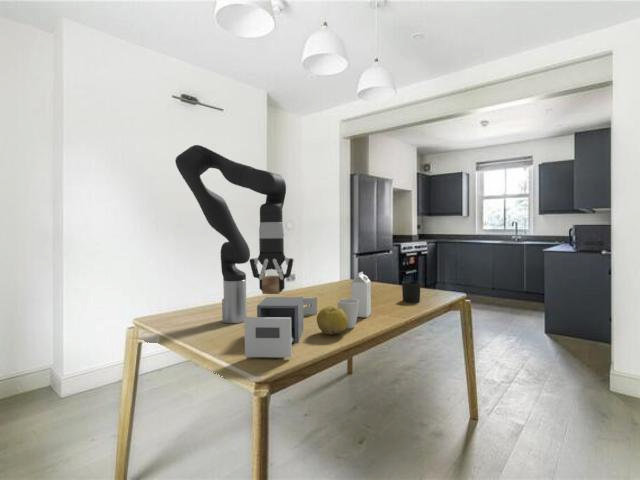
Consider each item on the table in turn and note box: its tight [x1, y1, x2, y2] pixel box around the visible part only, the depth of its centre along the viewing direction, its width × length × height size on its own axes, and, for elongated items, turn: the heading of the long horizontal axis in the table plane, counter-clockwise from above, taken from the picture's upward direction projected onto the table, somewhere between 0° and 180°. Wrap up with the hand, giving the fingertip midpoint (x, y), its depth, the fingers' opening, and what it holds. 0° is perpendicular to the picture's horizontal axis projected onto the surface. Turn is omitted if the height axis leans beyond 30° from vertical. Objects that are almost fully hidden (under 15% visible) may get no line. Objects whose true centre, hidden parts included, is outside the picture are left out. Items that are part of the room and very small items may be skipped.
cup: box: [337, 298, 358, 329], centre depth 137 cm, size 8×8×10 cm
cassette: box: [303, 296, 318, 317], centre depth 157 cm, size 12×2×8 cm, turn 113°
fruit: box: [316, 305, 348, 335], centre depth 128 cm, size 11×12×10 cm
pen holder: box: [401, 280, 421, 303], centre depth 185 cm, size 9×9×10 cm
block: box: [261, 275, 281, 295], centre depth 111 cm, size 5×5×5 cm
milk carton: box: [350, 271, 372, 318], centre depth 155 cm, size 7×7×19 cm
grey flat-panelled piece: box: [243, 316, 293, 358], centre depth 110 cm, size 14×15×11 cm
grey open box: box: [256, 296, 304, 343], centre depth 127 cm, size 14×15×12 cm
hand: (272, 290), depth 111 cm, fingers closed on block, 5 cm apart
